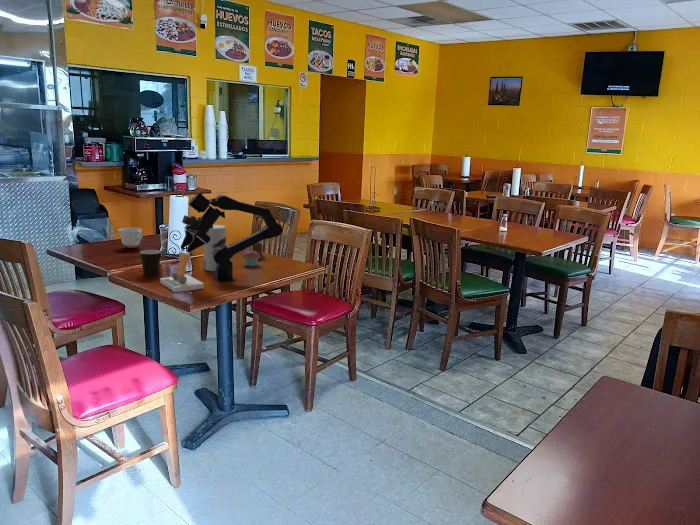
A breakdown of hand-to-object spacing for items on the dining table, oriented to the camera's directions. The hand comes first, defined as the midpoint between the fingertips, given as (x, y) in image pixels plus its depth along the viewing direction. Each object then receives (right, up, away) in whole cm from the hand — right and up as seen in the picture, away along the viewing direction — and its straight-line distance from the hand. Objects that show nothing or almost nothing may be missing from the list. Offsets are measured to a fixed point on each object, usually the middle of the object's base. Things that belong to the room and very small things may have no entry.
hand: (184, 249), depth 229 cm
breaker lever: (-2, -12, -2) cm, 12 cm away
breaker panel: (-1, -15, 0) cm, 15 cm away
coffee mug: (-19, -10, +17) cm, 27 cm away
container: (+6, -8, +29) cm, 31 cm away
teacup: (-47, +2, +66) cm, 81 cm away
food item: (+19, -2, +60) cm, 63 cm away
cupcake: (+20, -7, +40) cm, 45 cm away
